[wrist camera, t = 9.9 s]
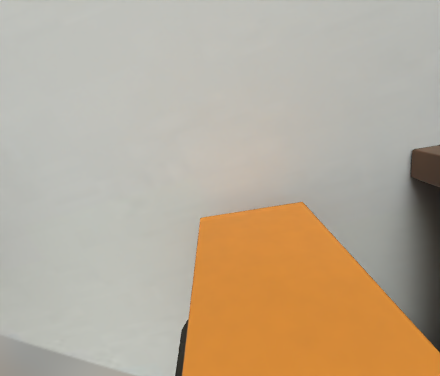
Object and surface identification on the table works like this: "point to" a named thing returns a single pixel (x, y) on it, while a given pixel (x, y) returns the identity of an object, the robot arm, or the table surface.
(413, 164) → the wooden shelf
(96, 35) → the table surface
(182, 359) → the robot arm
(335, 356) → the packet
